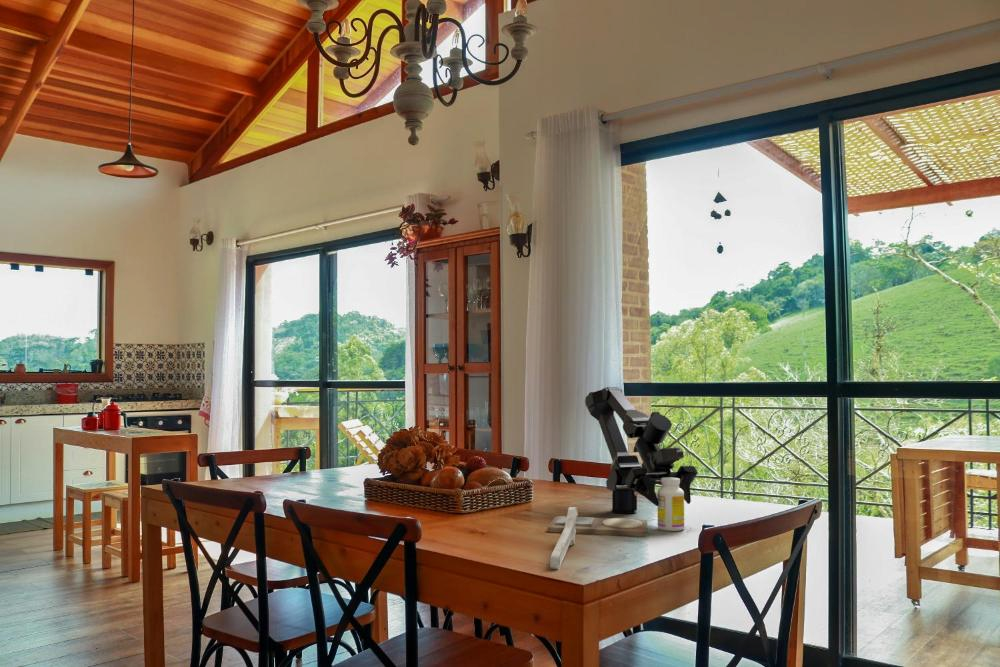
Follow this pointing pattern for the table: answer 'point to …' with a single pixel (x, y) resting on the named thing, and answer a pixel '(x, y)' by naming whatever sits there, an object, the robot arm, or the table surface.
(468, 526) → the table surface
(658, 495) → the supplement bottle
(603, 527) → the coaster board
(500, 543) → the table surface
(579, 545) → the table surface
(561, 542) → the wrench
